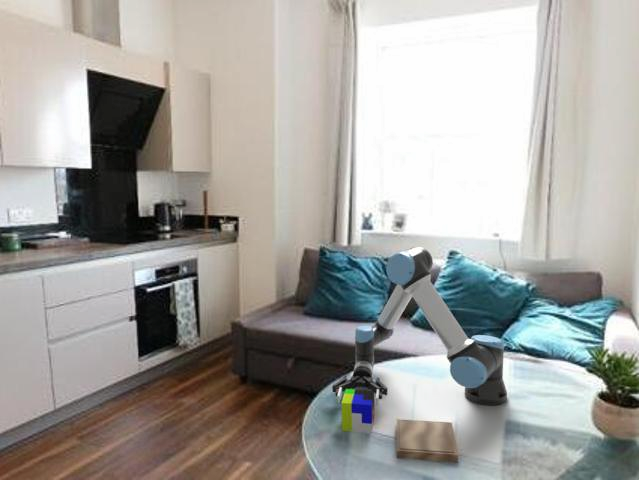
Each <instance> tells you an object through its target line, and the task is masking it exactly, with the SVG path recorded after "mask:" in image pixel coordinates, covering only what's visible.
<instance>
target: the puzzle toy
mask: <svg viewBox="0 0 639 480" xmlns="http://www.w3.org/2000/svg"><path fill="white" fill-rule="evenodd" d="M343 393H344V394H343V397H342V400H341V402H340V404H341V406H340V407H341V431H343V432H344V431H345V432H355V433H357V432H358V433H367V434H368V433H369V434H372V433H373V428H374V424H375V423H374V422H375V392H374V391H372V390H368V389H365V390H364V389H355V388H354V389H352V388H351V389H346V390H345V391H344V392H343Z"/></svg>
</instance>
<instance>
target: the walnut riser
mask: <svg viewBox="0 0 639 480" xmlns="http://www.w3.org/2000/svg"><path fill="white" fill-rule="evenodd" d="M455 437H456V436H455V431H454V428H453V422H449V421H448V422H447V421H435V420H433V421H431V420H417V419H401V418H399V419H396V459H401V460H402V459H403V460H404V459H405V460H419V461H430V462H442V463H443V462H445V463H446V462H447V463H456V464H458V463H459V451H458V446H457V442H456V438H455Z"/></svg>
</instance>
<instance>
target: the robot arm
mask: <svg viewBox="0 0 639 480" xmlns="http://www.w3.org/2000/svg"><path fill="white" fill-rule="evenodd" d="M433 262H434V261H433V257H432V254H431V253H430V252H429V251H428V250H427V249H425V247H420V246H413V247H411V248H407V249H404V250H399V251H398V252H396V253H393V254H392V255H391V256H390V257H389V258H388V259H387V262H386V268H385V269H386V275H387V277H388V279H389V281H391V282H392V283H394V284H395V288H394V290H393V292H392V293H391V295H390V297H389V299H388V300H387V302H386V304H385V306H384V307H383V309H382V311H381V313H380V314H379V317H378V318H377V320H376V322H375V324H374V325H372V326H369V325H359V326H357V327H356V328H355V331H354V333H355V336H354V339H355V340H354V342H355V343H354V345H355V363H354V365H355V366H354V368H353V373H352V375H351V377H348V376H347V375H344V376H343V377H342V378H340V380H338V381H336V382H335V383H333V384H332V393H335V397H337V399H336V400H337V404H339V403H340V404H341V401H342V400H341V399H342V395H343V393H345V390H346V389H354V390H355V389H356V388H365V389H366V390H368V391H374V394H376V395H375V406H379V401H380V400H382V399H383V396H388V387H386V385H385V384H384V383H383V382H382V381H381V379H380V377H376V378H375V379H373V374H374V373H373V372H374V368H375V355H374V354H375V351H374V350H375V346H378V345H379V344H381V343H382V342H385V341H386V340H388V339H390V338H391V337H393V335H394V332H395V331H394V330H395V326H396V325H397V323H398V321H399V319H400V318H401V316H402V314H403V312H404V311H405V309H406V308H407V306H408V304H409V302H410V301H411V299H412V298H413V299H414V301H415V303H416V304H417V306H418V307H419V309H420V311H421V312H422V314H423V315H424V316H425V317H424V318H426V320H427V322H428V323H429V324H430V326H431V328H432V329H433V331H434V332H435V333H436V336H437V337H438V338H439V340H440V341H441V343H442V345H443V346H444V348H445V349H446V359H447V361H448V362H449V363H450V364H449V365H450V366H449V373H450V376H451V377H452V379H453V380H454V381H455V382H456V383H457V384H458V385H460V386H461V387H463V388H464V395H465V397H466V398H467V399H468V400H469V401H472V402H473V403H476V404H479V405H484V406H498V405H502V404H505V403H506V402H507V400H508V391H507V388H506V384H505V381H504V379H503V378H504V377H503V375H504V353H505V352H504V350H505V348H504V347H505V346H504V341H503V340H502V339H500V338H499V337H495V336H492V335H484V334H483V335H482V334H477V335H476V334H475V335H472V336H471V338H469V337H468V335H467V334H466V333H465V331H464V330H463V328H462V327H461V325H460V324H459V322H458V320H457V319H456V317H455V316H454V315H453V313H452V311H451V310H450V309H449V307H448V305H447V304H446V303H445V301H444V300H443V298H442V297H441V295H440V294H439V292H438V291H437V289H436V287H435V286H434V284H433V283H432V282H431V279H432V274H431V273H430V272H431V270H432V268H433V264H434V263H433Z"/></svg>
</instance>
